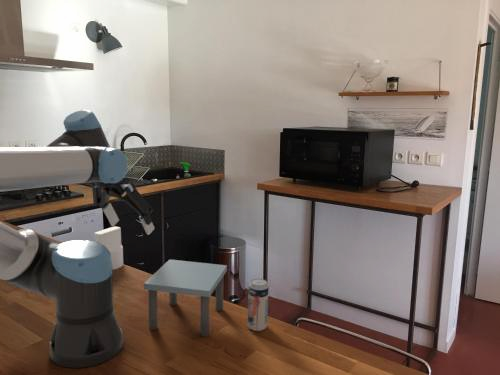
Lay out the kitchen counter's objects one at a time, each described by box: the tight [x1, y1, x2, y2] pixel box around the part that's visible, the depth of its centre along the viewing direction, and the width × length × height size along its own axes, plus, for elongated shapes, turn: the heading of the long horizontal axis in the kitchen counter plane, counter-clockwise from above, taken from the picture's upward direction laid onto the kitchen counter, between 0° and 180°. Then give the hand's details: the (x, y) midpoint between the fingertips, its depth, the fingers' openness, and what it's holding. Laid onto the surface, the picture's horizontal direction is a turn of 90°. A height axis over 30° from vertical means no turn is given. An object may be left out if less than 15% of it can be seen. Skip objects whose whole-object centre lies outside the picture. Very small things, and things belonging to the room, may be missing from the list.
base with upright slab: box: [93, 225, 124, 270], centre depth 141 cm, size 9×9×12 cm
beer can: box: [247, 278, 270, 332], centre depth 105 cm, size 5×5×12 cm
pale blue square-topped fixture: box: [143, 259, 228, 338], centre depth 108 cm, size 16×16×12 cm
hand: (132, 227), depth 124 cm, fingers open, 13 cm apart
